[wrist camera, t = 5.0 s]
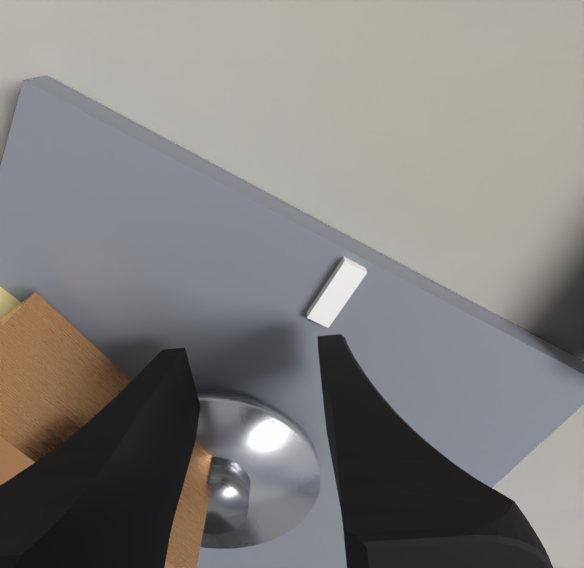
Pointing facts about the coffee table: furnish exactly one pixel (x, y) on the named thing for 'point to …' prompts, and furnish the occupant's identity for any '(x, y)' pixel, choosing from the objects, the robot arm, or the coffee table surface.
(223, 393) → the orange block with disc
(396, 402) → the board
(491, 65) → the coffee table surface
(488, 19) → the coffee table surface
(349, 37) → the coffee table surface
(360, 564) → the robot arm
